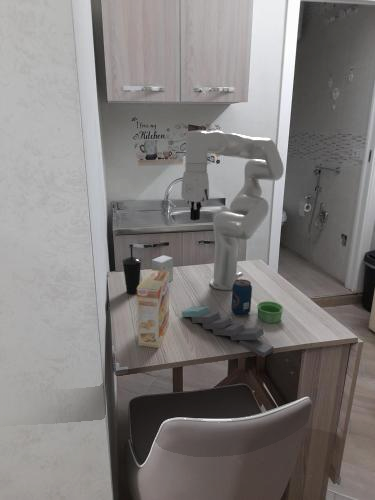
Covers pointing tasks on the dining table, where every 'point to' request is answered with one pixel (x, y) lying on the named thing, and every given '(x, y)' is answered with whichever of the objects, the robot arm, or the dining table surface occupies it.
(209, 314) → the tile
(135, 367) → the dining table surface
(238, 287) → the soda can
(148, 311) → the coffeecake box
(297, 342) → the dining table surface
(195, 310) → the teal tile
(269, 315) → the ramekin
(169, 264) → the small box
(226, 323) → the tile
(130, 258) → the drinking cup
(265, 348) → the tile
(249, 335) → the tile
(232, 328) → the tile
